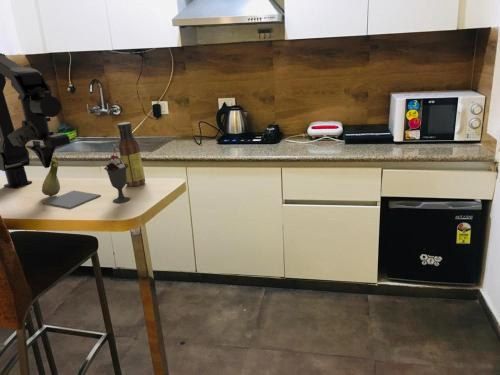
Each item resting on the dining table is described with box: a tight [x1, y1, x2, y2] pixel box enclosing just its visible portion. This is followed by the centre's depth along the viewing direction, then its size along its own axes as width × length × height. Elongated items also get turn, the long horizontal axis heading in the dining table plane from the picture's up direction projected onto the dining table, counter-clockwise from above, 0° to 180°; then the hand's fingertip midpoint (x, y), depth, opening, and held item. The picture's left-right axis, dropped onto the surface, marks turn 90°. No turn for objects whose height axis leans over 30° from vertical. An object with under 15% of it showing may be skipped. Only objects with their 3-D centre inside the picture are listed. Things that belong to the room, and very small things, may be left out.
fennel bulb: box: [41, 155, 61, 197], centre depth 128 cm, size 6×5×12 cm
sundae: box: [103, 147, 131, 204], centre depth 121 cm, size 7×7×15 cm
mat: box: [42, 190, 102, 210], centre depth 126 cm, size 12×11×1 cm
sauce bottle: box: [117, 121, 146, 187], centre depth 134 cm, size 6×6×20 cm
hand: (47, 167), depth 127 cm, fingers closed
